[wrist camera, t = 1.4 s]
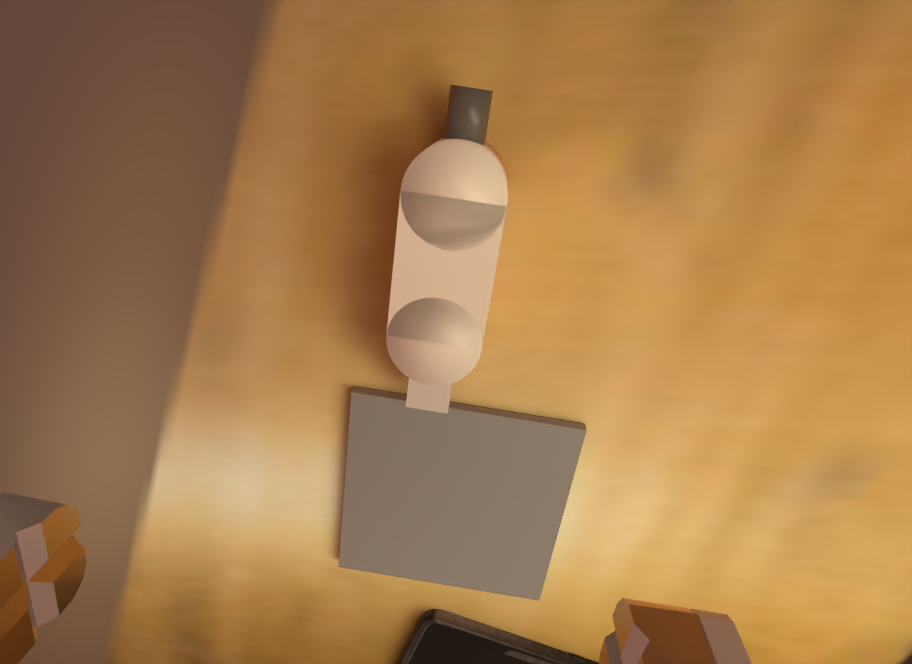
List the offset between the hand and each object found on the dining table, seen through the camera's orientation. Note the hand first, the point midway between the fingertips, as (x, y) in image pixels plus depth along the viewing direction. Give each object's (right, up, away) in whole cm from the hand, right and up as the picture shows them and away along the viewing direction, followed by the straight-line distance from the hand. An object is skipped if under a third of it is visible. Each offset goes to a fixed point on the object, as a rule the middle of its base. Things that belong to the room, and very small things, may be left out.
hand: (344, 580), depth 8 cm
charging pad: (+2, -5, +23) cm, 24 cm away
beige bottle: (+2, +8, +17) cm, 19 cm away
